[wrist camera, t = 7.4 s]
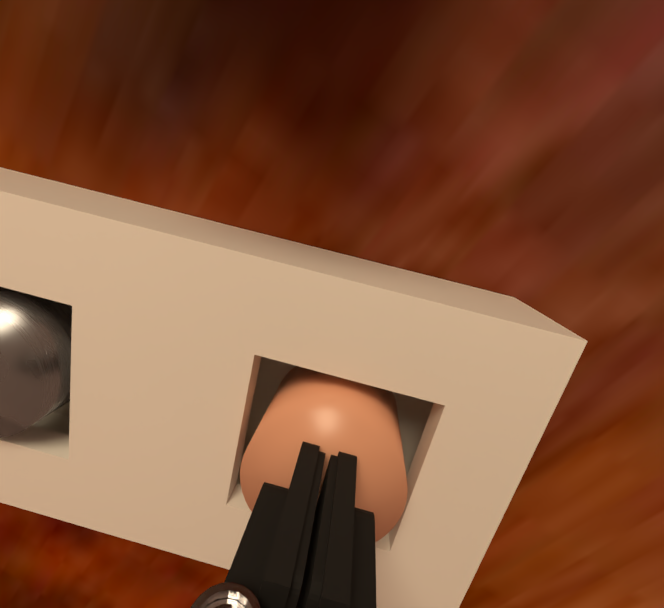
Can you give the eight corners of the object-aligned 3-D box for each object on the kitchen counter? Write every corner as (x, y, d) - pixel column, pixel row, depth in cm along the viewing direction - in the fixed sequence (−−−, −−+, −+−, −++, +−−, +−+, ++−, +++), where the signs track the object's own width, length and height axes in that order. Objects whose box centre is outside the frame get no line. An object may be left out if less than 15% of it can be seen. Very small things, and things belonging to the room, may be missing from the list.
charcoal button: (130, 291, 14) (43, 320, 11) (122, 394, 16) (43, 453, 12) (18, 262, 15) (-107, 280, 11) (21, 366, 16) (-90, 415, 12)
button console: (514, 297, 14) (587, 340, 9) (425, 517, 18) (446, 633, 13) (-24, 161, 15) (-206, 138, 10) (-11, 395, 19) (-145, 459, 14)
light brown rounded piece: (413, 373, 13) (430, 439, 9) (377, 476, 15) (381, 571, 11) (287, 340, 13) (254, 391, 10) (265, 445, 15) (228, 527, 11)
